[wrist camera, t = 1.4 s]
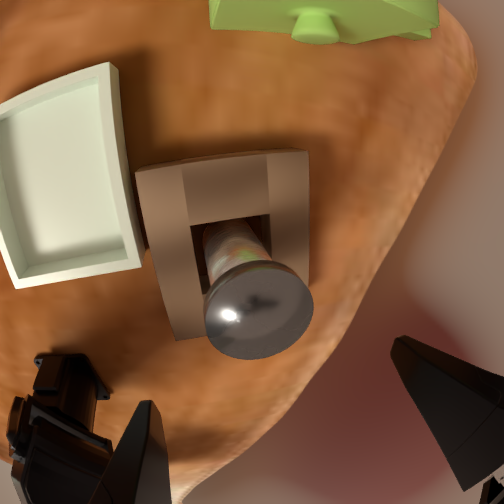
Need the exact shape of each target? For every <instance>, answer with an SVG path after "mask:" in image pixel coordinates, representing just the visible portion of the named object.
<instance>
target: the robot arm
mask: <svg viewBox="0 0 504 504" xmlns="http://www.w3.org/2000/svg"><path fill="white" fill-rule="evenodd" d="M390 355H391V359H392V360H393V363H394V365H395V367H396V369H397V371H398V373H399V375H400V378H401V380H402V382H403V384H404V386H405V388H406V389H407V391H408V393H409V394H410V396H411V398H412V399H413V401H414V402H415V404H416V406H417V408H418V409H419V411H420V413H421V415H422V416H423V418H424V420H425V421H426V423H427V425H428V426H429V428H430V430H431V432H432V434H433V435H434V437H435V439H436V441H437V443H438V444H439V446H440V448H441V450H442V452H443V454H444V455H445V457H446V458H447V461H448V463H449V464H450V467H451V469H452V471H453V473H454V474H455V477H456V478H457V480H458V482H459V484H460V486H461V488H462V490H463V491H464V492H465V491H466V490H468V489H470V488H471V487H473V486H474V485H475V484H477V483H479V482H480V481H482V480H483V479H485V478H486V477H487V476H489V475H490V474H493V475H492V476H491V477H490V478H489V479H488V480H487V481H486V482H485V483H484V484H483V489H482V494H481V498H480V502H479V504H504V377H503V376H500V375H497V374H494V373H492V372H489V371H486V370H484V369H482V368H479V367H476V366H475V365H472V364H470V363H468V362H465V361H463V360H461V359H459V358H456V357H454V356H452V355H449V354H447V353H445V352H443V351H440V350H438V349H436V348H433V347H431V346H429V345H427V344H424V343H422V342H420V341H418V340H415V339H413V338H411V337H409V336H406V335H401V336H399V337H397V338H395V340H394V343H393V345H392V348H391V351H390ZM82 359H83V360H82ZM34 363H35V364H36V366H37V367H38V369H39V371H38V374H37V376H36V379H35V382H34V385H33V390H34V393H33V396H30V395H29V394H28V395H27V396H26V397H25V398H23V397H22V398H21V397H17V396H15V398H14V400H13V403H12V406H11V409H10V413H9V417H8V424H7V431H6V437H7V439H8V441H9V456H10V457H11V458H13V459H14V460H13V466H12V471H11V478H12V481H13V484H14V486H15V489H16V491H17V494H18V496H19V499H20V501H21V504H172V500H171V490H170V479H169V466H168V454H167V448H166V443H165V437H164V431H163V425H162V419H161V415H160V412H159V410H158V409H157V407H156V405H155V404H154V402H153V401H152V400H144V401H141V402H140V403H139V404H138V406H137V408H136V410H135V412H134V414H133V416H132V418H131V420H130V422H129V424H128V426H127V428H126V430H125V432H124V433H123V435H122V437H121V439H120V441H119V443H118V445H117V447H116V449H115V451H114V452H113V447H112V442H111V440H109V439H107V438H103V437H101V436H98V435H96V434H94V433H93V426H94V418H95V411H96V404H97V400H109V399H110V393H109V392H108V390H107V389H106V387H105V386H104V384H103V383H102V381H101V379H100V378H99V376H98V375H97V373H96V371H95V370H94V368H93V367H92V365H91V363H90V361H89V360H88V358H87V357H86V356H85V355H83V354H72V355H55V356H36V357H35V358H34Z"/></svg>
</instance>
